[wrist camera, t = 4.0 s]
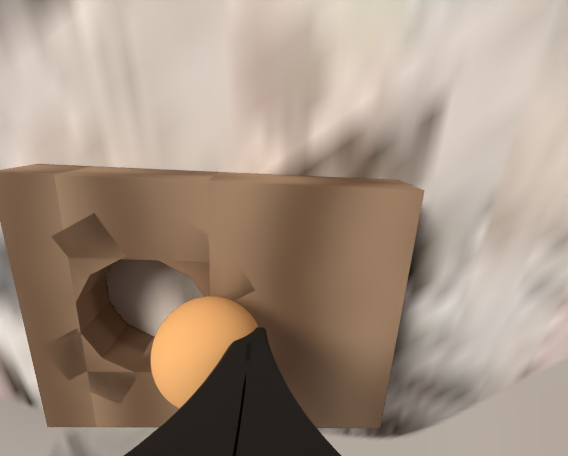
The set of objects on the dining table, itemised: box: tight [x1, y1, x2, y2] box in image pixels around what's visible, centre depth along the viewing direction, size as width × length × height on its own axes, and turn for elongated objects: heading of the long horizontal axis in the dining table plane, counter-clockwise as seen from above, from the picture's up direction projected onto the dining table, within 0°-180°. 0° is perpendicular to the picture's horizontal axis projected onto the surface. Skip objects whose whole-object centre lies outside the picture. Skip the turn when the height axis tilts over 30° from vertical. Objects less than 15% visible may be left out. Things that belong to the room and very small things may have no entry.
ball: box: [151, 296, 258, 408], centre depth 12 cm, size 4×4×4 cm
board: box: [0, 164, 424, 428], centre depth 15 cm, size 16×12×2 cm
